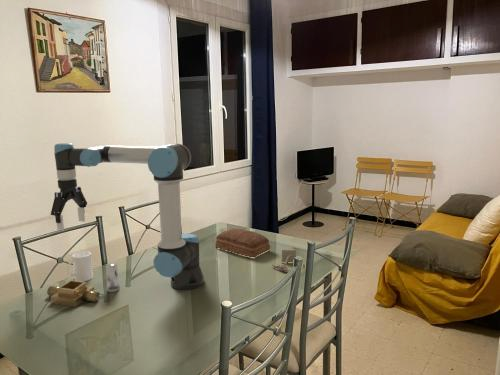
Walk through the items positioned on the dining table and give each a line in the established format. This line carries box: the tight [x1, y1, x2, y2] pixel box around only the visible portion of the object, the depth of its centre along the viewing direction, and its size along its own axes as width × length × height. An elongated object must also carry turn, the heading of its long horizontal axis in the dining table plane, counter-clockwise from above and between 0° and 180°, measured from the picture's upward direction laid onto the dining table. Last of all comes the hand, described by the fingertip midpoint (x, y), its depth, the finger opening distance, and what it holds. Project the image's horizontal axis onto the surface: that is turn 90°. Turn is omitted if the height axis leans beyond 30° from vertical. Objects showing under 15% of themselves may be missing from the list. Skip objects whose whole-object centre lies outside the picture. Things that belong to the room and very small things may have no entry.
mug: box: [66, 250, 94, 282], centre depth 181 cm, size 12×8×12 cm
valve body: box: [46, 279, 101, 308], centre depth 163 cm, size 23×12×6 cm, turn 75°
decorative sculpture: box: [271, 248, 297, 273], centre depth 195 cm, size 16×10×7 cm, turn 156°
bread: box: [215, 228, 271, 257], centre depth 218 cm, size 17×29×11 cm, turn 51°
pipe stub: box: [105, 262, 121, 294], centre depth 170 cm, size 5×5×12 cm
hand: (71, 225), depth 172 cm, fingers open, 13 cm apart
